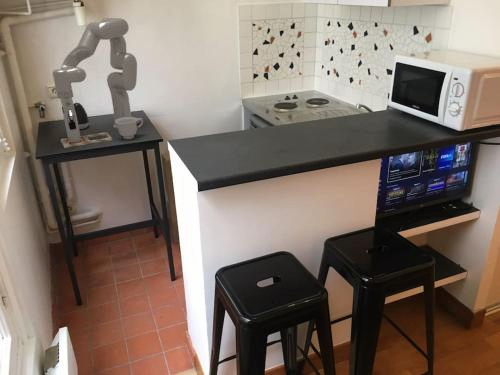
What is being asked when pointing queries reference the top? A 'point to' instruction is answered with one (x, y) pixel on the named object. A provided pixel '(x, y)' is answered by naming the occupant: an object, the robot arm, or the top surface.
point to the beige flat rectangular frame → (86, 140)
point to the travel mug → (72, 134)
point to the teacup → (128, 126)
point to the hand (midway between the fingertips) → (71, 127)
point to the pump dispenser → (81, 116)
